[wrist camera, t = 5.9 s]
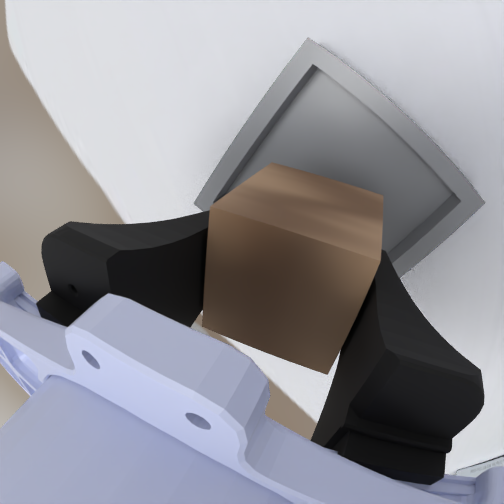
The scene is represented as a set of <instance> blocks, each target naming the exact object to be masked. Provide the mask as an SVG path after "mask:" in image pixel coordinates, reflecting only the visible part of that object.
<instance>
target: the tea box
mask: <svg viewBox="0 0 504 504" xmlns="http://www.w3.org/2000/svg"><path fill="white" fill-rule="evenodd" d="M495 466H504V456H503V457H500V458H498V459H495V460H491V461H488V462H485V463H482V464H478V465H475V466H471V467H467V468H463V469H459V470H458V471H457V472H456V475H457V476H467V477H477V476H478V475H480V474H481V473H482V472H484V471H485V470H487V469H489V468H492V467H495Z"/></svg>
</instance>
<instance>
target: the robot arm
mask: <svg viewBox="0 0 504 504" xmlns="http://www.w3.org/2000/svg"><path fill="white" fill-rule="evenodd" d="M209 213H210V210H209V211H205V212H201V213H197V214H193V215H189V216H185V217H180V218H176V219H171V220H165V221H158V222H150V223H137V224H91V223H79V222H68V223H66V224H64V225H63V226H61V227H59V228H58V229H56V230H54V231H53V232H51V233H50V234H48V235H47V236H46V237H45V238H44V240H43V242H42V259H43V263H44V267H45V270H46V274H47V278H48V281H49V285H50V288H51V292H50V293H48V294H47V295H46V296H44V297H43V298H42V299H41V300H39V301H37V300H35V299H34V298H33V297H32V296H30V295H29V294H28V293H26V292H25V291H24V286H23V283H22V280H21V278H20V276H19V275H18V273H17V272H16V271H15V270H14V269H13V268H12V267H10V266H9V265H8V264H7V263H5V262H3V261H2V262H1V263H0V363H1V365H2V366H3V367H4V368H5V369H6V370H7V371H8V373H9V374H10V375H11V376H12V377H13V378H14V379H15V380H16V382H17V383H18V384H19V385H20V386H21V387H22V388H23V389H24V390H25V391H26V392H27V393H28V394H29V396H30V397H29V399H28V400H27V401H26V402H25V403H24V404H23V405H22V406H21V407H20V408H19V409H18V410H17V411H16V412H15V413H14V414H13V415H12V417H11V418H10V419H9V420H8V421H7V422H6V423H5V424H4V425H3V426H2V427H1V428H0V504H504V466H495V467H492V468H489V469H487V470H485V471H484V472H482V473H481V474H480V475H478V476H477V477H467V476H457V475H449V474H444V472H445V460H446V453H449V452H450V451H451V449H452V438H453V437H454V436H456V435H457V434H458V433H459V432H460V431H462V430H463V429H464V428H465V427H466V426H467V425H468V424H470V423H471V422H472V421H473V420H474V419H475V418H476V416H477V415H478V414H479V413H480V411H481V409H482V407H483V405H484V389H483V381H482V374H481V370H480V369H479V368H478V367H476V366H475V365H474V364H472V363H471V362H470V361H469V360H467V359H466V358H465V357H464V356H462V355H461V354H460V353H459V352H458V351H456V350H455V349H454V348H453V347H452V346H451V345H450V344H449V343H448V342H447V341H446V340H445V339H444V338H443V337H442V336H441V335H440V334H439V333H438V332H437V331H436V330H435V329H434V327H433V326H432V325H431V324H430V323H429V322H428V320H427V319H426V318H425V317H424V316H423V314H422V313H421V311H420V310H419V309H418V307H417V306H416V305H415V303H414V302H413V300H412V299H411V297H410V296H409V294H408V292H407V291H406V289H405V287H404V286H403V284H402V282H401V280H400V278H399V277H398V275H397V273H396V271H395V269H394V267H393V265H392V263H391V261H390V259H389V257H388V254H387V253H386V251H385V250H382V249H381V261H380V264H379V266H378V269H377V271H376V274H375V276H374V278H373V281H372V283H371V285H370V288H369V290H368V292H367V295H366V297H365V299H364V301H363V304H362V306H361V308H360V310H359V312H358V314H357V317H356V319H355V321H354V323H353V325H352V327H351V329H350V331H349V333H348V335H347V338H346V340H345V342H344V344H343V346H342V348H341V351H340V356H339V361H338V365H337V369H336V372H335V375H334V378H333V381H332V384H331V387H330V390H329V393H328V396H327V399H326V402H325V405H324V407H323V410H322V413H321V416H320V418H319V421H318V423H317V426H316V428H315V431H314V433H313V436H312V439H311V441H310V440H308V439H306V438H305V437H303V436H301V435H299V434H297V433H295V432H294V431H292V430H290V429H288V428H286V427H285V426H283V425H281V424H279V423H278V422H276V421H274V420H273V419H271V418H269V417H267V416H266V415H265V409H266V406H267V403H268V401H269V398H270V390H269V382H268V378H267V377H266V376H265V374H264V373H263V372H262V371H261V370H260V368H259V367H258V366H257V365H256V364H255V362H254V361H253V360H252V359H251V358H250V357H248V356H247V355H245V354H243V353H242V352H240V351H238V350H237V349H235V348H234V347H232V346H230V345H229V344H227V343H224V342H221V341H219V340H217V339H215V338H212V337H210V336H208V335H205V334H203V333H201V332H199V331H196V330H194V329H192V328H190V327H191V326H192V324H193V323H194V321H195V320H196V318H197V317H198V315H199V314H200V312H201V311H202V310H203V300H204V283H205V267H206V252H207V239H208V226H209Z"/></svg>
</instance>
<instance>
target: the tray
mask: <svg viewBox="0 0 504 504" xmlns="http://www.w3.org/2000/svg"><path fill="white" fill-rule="evenodd" d="M272 162H273V163H276V164H280V165H284V166H288V167H291V168H295V169H299V170H302V171H306V172H309V173H313V174H316V175H320V176H323V177H327V178H330V179H333V180H337V181H340V182H343V183H346V184H350V185H353V186H356V187H359V188H362V189H365V190H368V191H371V192H374V193H377V194H380V195H383V228H382V248H381V249H382V250H385V251H386V253H387V254H388V257H389V259H390V261H391V263H392V265H393V267H394V269H395V271H396V273H397V275H398V277H399V278H400V277H401V276H403V275H404V274H405V273H406V272H408V271H409V270H410V269H411V268H413V267H414V266H415V265H416V264H417V263H419V262H420V261H421V260H422V259H423V258H425V257H426V256H427V255H428V254H429V253H431V252H432V251H433V250H434V249H435V248H436V247H438V246H439V245H440V244H441V243H442V242H443V241H444V240H446V239H447V238H448V237H449V236H450V235H451V234H452V233H453V232H455V231H456V230H457V229H458V228H459V227H460V226H461V225H462V224H463V223H464V222H466V221H467V220H468V219H469V218H470V217H471V216H472V215H473V214H474V213H475V212H476V211H477V210H478V209H479V208H480V207H481V206H482V205H483V204H485V202H484V200H483V199H482V198H481V196H480V195H479V194H478V193H477V191H476V190H475V189H474V188H473V186H472V185H471V184H470V183H469V181H468V180H467V179H466V178H465V177H464V175H463V174H462V173H461V172H460V171H459V170H458V168H457V167H456V166H455V165H454V164H453V163H452V162H451V160H450V159H449V158H448V157H447V156H446V155H445V154H444V153H443V152H442V151H441V149H440V148H439V147H438V146H437V145H436V144H435V143H434V142H433V141H432V140H431V139H430V138H429V137H428V136H427V135H426V134H425V133H424V132H423V131H422V130H421V129H420V128H419V127H418V126H417V125H416V124H415V123H414V122H413V121H412V120H411V119H410V118H409V117H408V116H407V115H406V114H405V113H404V112H402V111H401V110H400V109H399V108H398V107H397V106H396V105H395V104H394V103H393V102H391V101H390V100H389V99H388V98H387V97H386V96H385V95H383V94H382V93H381V92H380V91H379V90H378V89H376V88H375V87H374V86H373V85H372V84H370V83H369V82H368V81H367V80H366V79H364V78H363V77H362V76H361V75H359V74H358V73H357V72H356V71H354V70H353V69H352V68H350V67H349V66H348V65H346V64H345V63H344V62H342V61H341V60H340V59H338V58H337V57H336V56H334V55H333V54H332V53H330V52H329V51H327V50H326V49H324V48H323V47H322V46H320V45H319V44H317V43H316V42H314V41H313V40H311V39H310V38H307V39H306V41H305V42H304V43H303V45H302V46H301V47H300V48H299V50H298V51H297V52H296V54H295V55H294V56H293V58H292V59H291V60H290V62H289V63H288V64H287V66H286V67H285V68H284V70H283V71H282V72H281V74H280V75H279V76H278V78H277V79H276V80H275V82H274V83H273V85H272V86H271V87H270V89H269V90H268V91H267V93H266V94H265V96H264V97H263V98H262V100H261V101H260V103H259V104H258V106H257V107H256V108H255V110H254V111H253V113H252V114H251V116H250V117H249V119H248V120H247V121H246V123H245V124H244V126H243V127H242V129H241V130H240V132H239V133H238V135H237V136H236V138H235V139H234V141H233V142H232V144H231V145H230V147H229V148H228V150H227V151H226V153H225V154H224V156H223V157H222V159H221V160H220V162H219V164H218V165H217V167H216V168H215V170H214V171H213V173H212V174H211V176H210V178H209V179H208V181H207V182H206V184H205V186H204V187H203V189H202V190H201V192H200V194H199V195H198V197H197V198H196V200H195V202H194V204H195V205H196V206H197V207H198V208H200V209H201V210H202V211H203V212H205V211H209V210H210V206H211V205H213V204H214V203H215V202H217V201H218V200H219V199H221V198H222V197H224V196H225V195H226V194H228V193H229V192H230V191H232V190H233V189H235V188H236V187H237V186H239V185H240V184H242V183H243V182H244V181H246V180H247V179H249V178H250V177H251V176H253V175H254V174H256V173H257V172H259V171H260V170H261V169H263V168H264V167H266V166H267V165H269V164H270V163H272Z"/></svg>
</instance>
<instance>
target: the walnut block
mask: <svg viewBox="0 0 504 504" xmlns="http://www.w3.org/2000/svg"><path fill="white" fill-rule="evenodd" d="M382 228H383V195H380V194H377V193H374V192H371V191H368V190H365V189H362V188H359V187H356V186H353V185H350V184H346V183H343V182H340V181H337V180H333V179H330V178H327V177H323V176H320V175H316V174H313V173H309V172H306V171H302V170H299V169H295V168H291V167H288V166H284V165H280V164H276V163H273V162H272V163H270V164H269V165H267V166H266V167H264V168H263V169H261V170H260V171H259V172H257V173H256V174H254V175H253V176H251V177H250V178H249V179H247V180H246V181H244V182H243V183H242V184H240V185H239V186H237V187H236V188H235V189H233V190H232V191H230V192H229V193H228V194H226V195H225V196H224V197H222V198H221V199H219V200H218V201H217V202H215V203H214V204H213V205H211V206H210V213H209V226H208V239H207V252H206V267H205V283H204V300H203V319H202V327H205V328H207V329H209V330H212V331H214V332H216V333H219V334H221V335H223V336H226V337H228V338H231V339H233V340H236V341H238V342H240V343H243V344H245V345H248V346H250V347H253V348H256V349H258V350H261V351H263V352H266V353H268V354H271V355H274V356H276V357H279V358H282V359H284V360H287V361H290V362H293V363H295V364H298V365H301V366H304V367H307V368H309V369H312V370H315V371H318V372H321V373H324V374H327V375H328V373H329V371H330V369H331V367H332V365H333V363H334V361H335V359H336V357H337V356H338V354H339V352H340V350H341V348H342V346H343V344H344V342H345V340H346V338H347V335H348V333H349V331H350V329H351V327H352V325H353V323H354V321H355V319H356V317H357V314H358V312H359V310H360V308H361V306H362V304H363V301H364V299H365V297H366V295H367V292H368V290H369V288H370V285H371V283H372V281H373V278H374V276H375V274H376V271H377V269H378V266H379V264H380V261H381V248H382Z"/></svg>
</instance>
